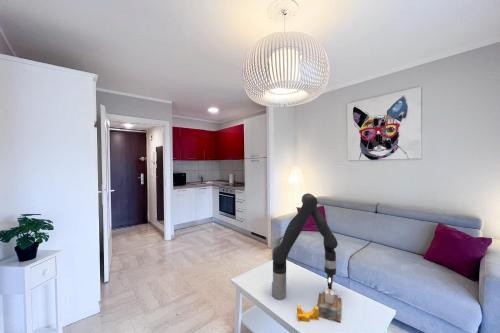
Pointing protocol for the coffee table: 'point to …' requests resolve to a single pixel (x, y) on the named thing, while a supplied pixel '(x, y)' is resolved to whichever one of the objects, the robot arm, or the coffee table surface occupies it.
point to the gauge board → (329, 308)
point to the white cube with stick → (329, 296)
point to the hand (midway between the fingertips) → (329, 290)
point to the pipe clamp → (307, 314)
